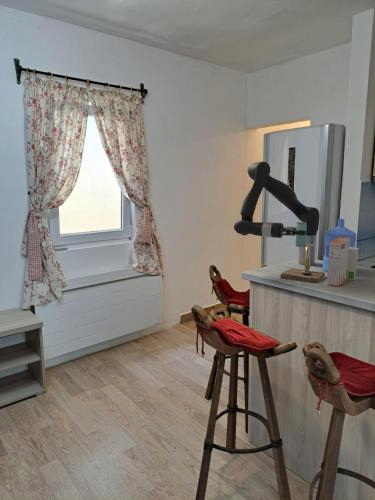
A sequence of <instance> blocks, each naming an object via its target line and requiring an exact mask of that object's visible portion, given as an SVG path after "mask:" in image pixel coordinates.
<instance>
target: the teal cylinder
mask: <svg viewBox="0 0 375 500" xmlns="http://www.w3.org/2000/svg"><path fill="white" fill-rule="evenodd" d="M296 228H297V229H296V230H297V231H298V230H303V231H306V228H307V223H306V222H302V221H299V222H296ZM305 246H306V235H295V247H296V248H299V247H305Z"/></svg>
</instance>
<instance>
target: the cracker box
mask: <svg viewBox="0 0 375 500" xmlns="http://www.w3.org/2000/svg"><path fill="white" fill-rule="evenodd" d="M350 241H351V239H350V238H337V239H335V240H332V241H330V243H329V254H328V255H329V263H328V272H327V286H333V287H341V286H342V285H343V284H345V283H346V282H348V281H349V280H348V273H349V257H350Z"/></svg>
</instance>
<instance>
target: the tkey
mask: <svg viewBox="0 0 375 500" xmlns="http://www.w3.org/2000/svg"><path fill="white" fill-rule="evenodd" d="M311 246H314V244H311V243H306V249H305V265H304V269H302V270H303V271H302V273H303V274H311V271H312V270H310V269H311V265H310V255H311Z"/></svg>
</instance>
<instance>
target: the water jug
mask: <svg viewBox="0 0 375 500" xmlns="http://www.w3.org/2000/svg"><path fill="white" fill-rule="evenodd" d="M337 220H338V222H337V226H336V227H334V228H332V229H329V230H327V231H325V232H324V245H325V249H324V256H323V259H322V260H323V261H322V270H323V271H324V272H327V273H328V263H329V243H330V241H332V240H335V239H337V238H350V239H351V241H350V247H355V248H356V242H357V233H356V232H355V231H353V230H351V229H349V228H347V227H346V226H345V218H338V219H337Z"/></svg>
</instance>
